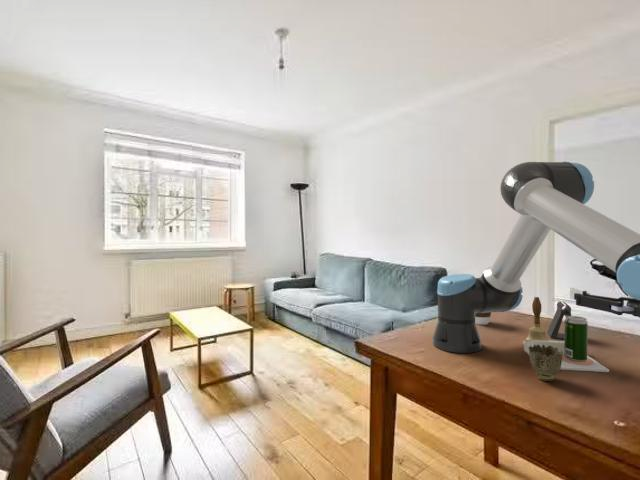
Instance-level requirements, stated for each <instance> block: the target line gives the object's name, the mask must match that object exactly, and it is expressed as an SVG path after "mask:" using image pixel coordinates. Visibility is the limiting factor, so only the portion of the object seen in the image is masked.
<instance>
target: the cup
mask: <svg viewBox="0 0 640 480" xmlns="http://www.w3.org/2000/svg"><path fill="white" fill-rule="evenodd" d="M528 348H529V355H528V356H529V361H530V364H531V367H532V369H533V371H535V372H536V373H537V374H536V375H537V378H538V379H539V380H541V381H543V382H552V381H554V379H555V376H556V375H558V374H559V372H560V371H561V369H560V368H561V362H562V354H563V351H562V350H561V352H558V348H557V347H556V348H554V347H552V346H548V347H546V348H545V346H544V345H542V347H541V346H540V345H535V344H534V346H533V348H532V346H531V345H530V347H529V346H528Z"/></svg>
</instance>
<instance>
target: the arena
mask: <svg viewBox="0 0 640 480" xmlns="http://www.w3.org/2000/svg"><path fill="white" fill-rule="evenodd" d="M523 342H524V344H523V347H524V349H523V350H524V352H525V353H526V354H527V355H528V356H530V355H529V348H528V346H529V347H530V345H531V346H532V348H533V346H534V344H535V345H540V346H541V347H542V345H544V346H545V348H546V347H548V346H552V347H554V348H556V347H557V348H558V352H561V350H562V351H563V354H562V362H561V368H560V371H561V370H565V371H579V372H580V371H583V372H598V373H599V372H600V373H601V372H602V373H610V369H608V368H607V367H606V366H604V365H603V364H601V363H599V362H598V361H597V360H595V359H594V358H592V357H591V356H589V354H587V360H586V362H574V361H571V360H568V359H566V357H565V355H564V340H548V341H545V340H526V339H524V340H523Z"/></svg>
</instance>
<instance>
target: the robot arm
mask: <svg viewBox="0 0 640 480" xmlns="http://www.w3.org/2000/svg"><path fill="white" fill-rule="evenodd" d="M591 172H592V171H591V170H590V169H589V168H588V167H587V166H585V165H583V164H581V163H578V162H570V161H526V162H522V163H519V164H516V165H515V166H512V167H510V169H509V170H508V171H507V172H506V173H505V174H504V176H503V178H502V179H501V183H500V189H499V191H500V195H501V198H502V200H503V201H504V203H505V204H506V205H507V206H509V208H510V209H512V210H513V211H515V212H517V213H518V214H519V217H518V219H517V220H516V222H515V224H514V225H513V227H512V229H511V232H510V233H509V235H508V237H507V239H506V240H505V243H504V244H503V246H502V248H501V250H500V251H499V253H498V256H497V257H496V258H495V261H494V263H493V265H491V266H488V267H487V268H485V269H484V271H483V272H482V275H481V277H475V276H474V275H473V274H469V273H461V274H459V273H457V274H456V273H455V274H449V275H445V276H442V277H441V278H440V279H439V280H438V281H437V290H436V292H437V323H436V326H435V330H434V331H433V334H432V345H433V346H434V347H436V348H437V349H440V350H442V351H445V352H450V353H456V354H457V353H458V354H469V353H476V352H478V351H480V350H481V349H482V339H481V337H480V334H479V331H478V328H477V326H476V325H477V324H475V313H488V312H491V313H506V312H509V311H512V310H515V309H516V308H517V307H519V306H520V304H521V302H522V300H523V297H524V296H523V294H522V293H523V290H524V289H523V287H522V283H521V278H522V276H523V274H524V273H525V272H526V270H527V268H528V266H529V265H530V263H531V261H532V260H533V258H534V256H535V255H536V253H537V252H538V251H539V249H540V248H541V246H542V244H543V243H544V241H545V239H546V237H547V236H548V234H549V233H550V232H551V231H553V232H554V233H556V234H558V235H559V236H560V237H562V238H563V239H565V240H566V241H567V242H569V243H571V244H572V245H574V246H575V247H577V248H579V249H580V250H582V252H585V253H586V254H587V255H588V256H590V257H592V258H593V259H594V260H596V261H598V262H599V263H601V264H602V265H604V266H605V267H606V268H608V269H609V270H611V271H613V272H614V273H616V280H617V284H618V285H619V286H620V287H621V289H622V292H624V293H625V294H626V295H628V296H627V297H625V296H621V297H617V298H616V297H609V296H604V295H602V296H601V295H595V294H590V292H588V291H587V290H580V289H578V288H574V287H570V289H569V290H570V291H569V298H570V299H571V300H574V301H575V305H576V306H578V307H584V308H588V309H593V310H597V311H602V312H607V313H610V314H614V315H617V316H623V315H624V314H626V315H632V316H633V317H637V318H639V319H640V233H638V232H636V231H634V230H633V229H630V228H628V227H627V226H625V225H623V224H621V223H619V222H618V221H616V220H614V219H612V218H609V217H608V216H606V215H605V214H602V213H601V212H598V211H597V210H595V209H593V208H592V207H590V206H587V205H585V204H587V203H588V202H589V201H590V199H591V198H592V197H593V193H594V190H595V181H594V180H593V174H592V173H591ZM625 301H626V305H624V304H625Z"/></svg>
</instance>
